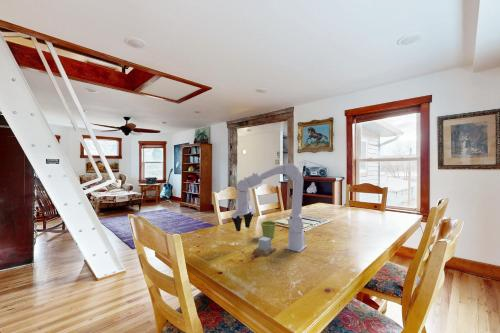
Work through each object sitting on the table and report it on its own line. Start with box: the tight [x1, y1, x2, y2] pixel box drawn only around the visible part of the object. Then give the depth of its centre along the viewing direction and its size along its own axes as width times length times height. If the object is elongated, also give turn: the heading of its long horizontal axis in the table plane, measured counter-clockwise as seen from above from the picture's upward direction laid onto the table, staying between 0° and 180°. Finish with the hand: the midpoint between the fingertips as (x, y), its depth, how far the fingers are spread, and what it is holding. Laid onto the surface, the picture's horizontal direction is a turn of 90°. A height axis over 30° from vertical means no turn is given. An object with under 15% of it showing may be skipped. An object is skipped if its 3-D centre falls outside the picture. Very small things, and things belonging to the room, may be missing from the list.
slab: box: [253, 246, 277, 257], centre depth 114 cm, size 8×8×2 cm
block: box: [257, 236, 272, 251], centre depth 114 cm, size 5×5×5 cm
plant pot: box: [260, 220, 277, 240], centre depth 135 cm, size 9×9×9 cm
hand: (242, 229), depth 118 cm, fingers open, 7 cm apart
